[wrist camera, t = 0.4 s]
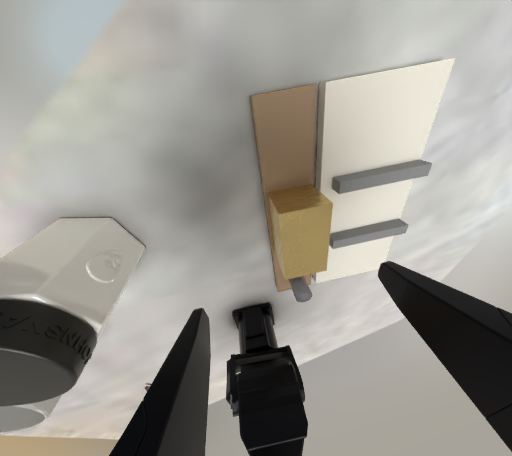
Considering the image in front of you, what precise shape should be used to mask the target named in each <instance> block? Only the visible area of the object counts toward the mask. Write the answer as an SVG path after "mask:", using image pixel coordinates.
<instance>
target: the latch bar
mask: <svg viewBox="0 0 512 456" xmlns="http://www.w3.org/2000/svg"><path fill="white" fill-rule="evenodd" d="M267 194H268V202H269V209H270V217H271V225H272V233H273V241H274V249H275V254H276V257H277V259H278V262H279V265H280V268H281V270H282V273H283V276H284V279H285V280H288V279H292V278H296V277H301V276H305V275H310V274H314V273H318V272H323V271H327V261H328V250H329V240H330V230H331V219H332V209H333V203H332V202H331V201H330V200H329V199H328V198H327V197H326V196H324V195H323V194H322V193H321V192H320V191H319V190H318V189H316V188H315V187H314V186H313V185H312V184H307V185H302V186H297V187H293V188H288V189H283V190H278V191H273V192H268V193H267Z"/></svg>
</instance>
